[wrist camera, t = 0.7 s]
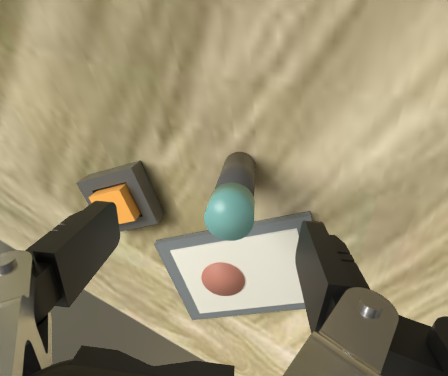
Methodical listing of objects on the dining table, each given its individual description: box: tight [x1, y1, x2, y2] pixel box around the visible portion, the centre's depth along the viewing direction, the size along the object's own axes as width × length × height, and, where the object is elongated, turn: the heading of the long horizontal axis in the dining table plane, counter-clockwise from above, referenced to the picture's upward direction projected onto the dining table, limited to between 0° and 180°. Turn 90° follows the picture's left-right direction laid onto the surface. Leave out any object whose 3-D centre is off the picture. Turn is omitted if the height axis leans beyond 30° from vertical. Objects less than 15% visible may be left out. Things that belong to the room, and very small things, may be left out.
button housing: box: [77, 161, 164, 231], centre depth 34 cm, size 8×8×3 cm
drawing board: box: [154, 211, 312, 320], centre depth 38 cm, size 22×16×1 cm
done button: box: [88, 183, 141, 224], centre depth 32 cm, size 4×4×2 cm
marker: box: [204, 152, 255, 241], centre depth 26 cm, size 4×4×12 cm
